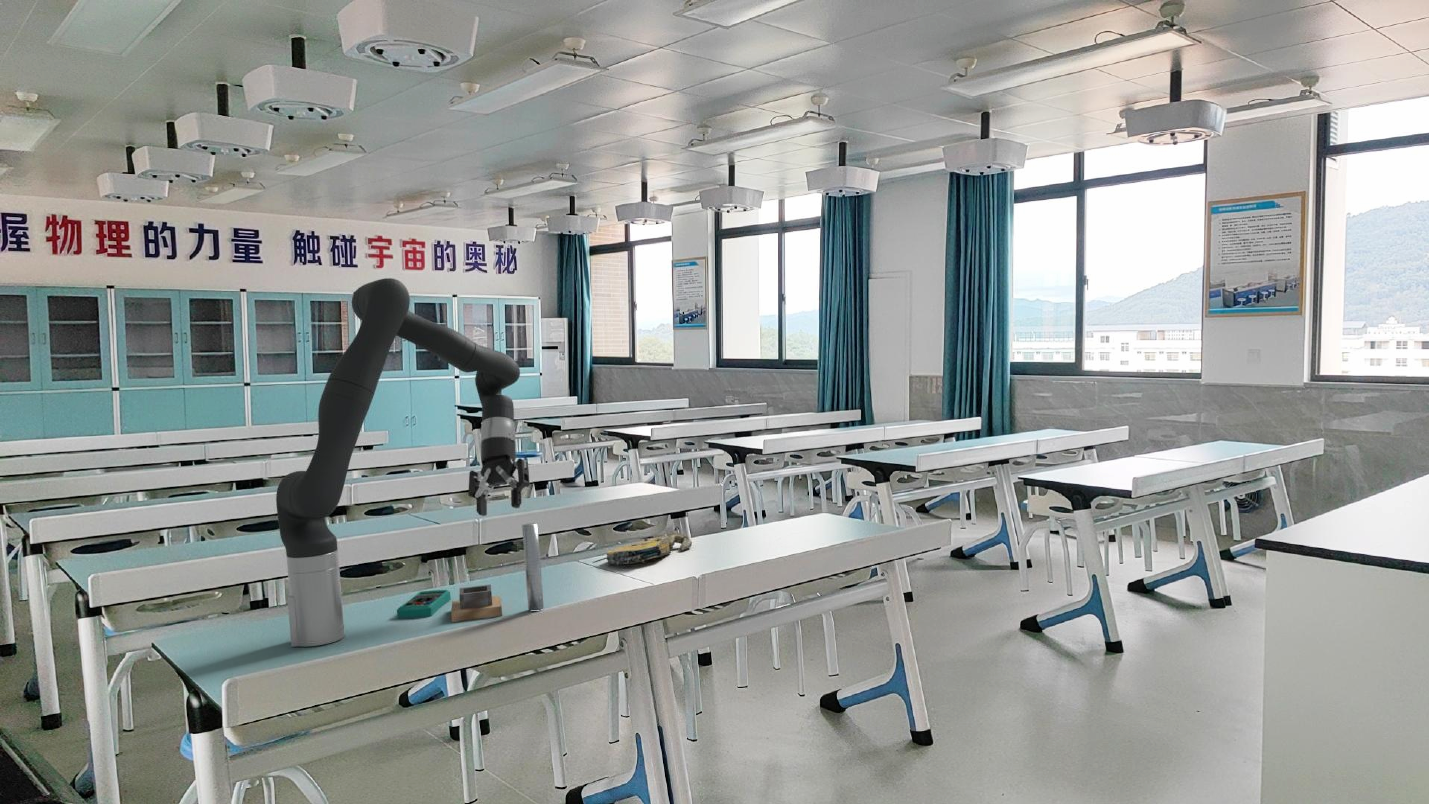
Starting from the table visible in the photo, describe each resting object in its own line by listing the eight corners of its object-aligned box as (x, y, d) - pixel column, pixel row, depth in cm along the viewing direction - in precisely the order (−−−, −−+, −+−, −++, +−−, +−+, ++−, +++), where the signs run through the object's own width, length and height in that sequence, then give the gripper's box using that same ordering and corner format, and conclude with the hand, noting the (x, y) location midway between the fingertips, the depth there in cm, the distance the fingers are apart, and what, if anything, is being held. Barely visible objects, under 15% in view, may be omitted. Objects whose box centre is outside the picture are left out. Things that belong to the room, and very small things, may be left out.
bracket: (451, 622, 191) (450, 597, 190) (452, 610, 200) (451, 587, 200) (502, 615, 193) (500, 591, 193) (500, 604, 203) (499, 581, 203)
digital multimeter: (395, 621, 196) (394, 607, 196) (419, 603, 211) (418, 590, 211) (430, 619, 196) (429, 605, 196) (451, 601, 211) (450, 588, 211)
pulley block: (706, 524, 249) (624, 546, 227) (710, 546, 249) (629, 570, 226) (668, 529, 259) (587, 551, 236) (672, 550, 258) (591, 573, 236)
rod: (528, 612, 194) (522, 526, 194) (527, 608, 197) (521, 524, 197) (544, 610, 195) (538, 524, 194) (543, 606, 198) (537, 522, 197)
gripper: (461, 443, 208) (460, 514, 202) (515, 429, 203) (517, 500, 197) (481, 453, 214) (482, 521, 208) (534, 439, 210) (536, 508, 204)
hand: (499, 511), depth 203 cm, fingers open, 8 cm apart
